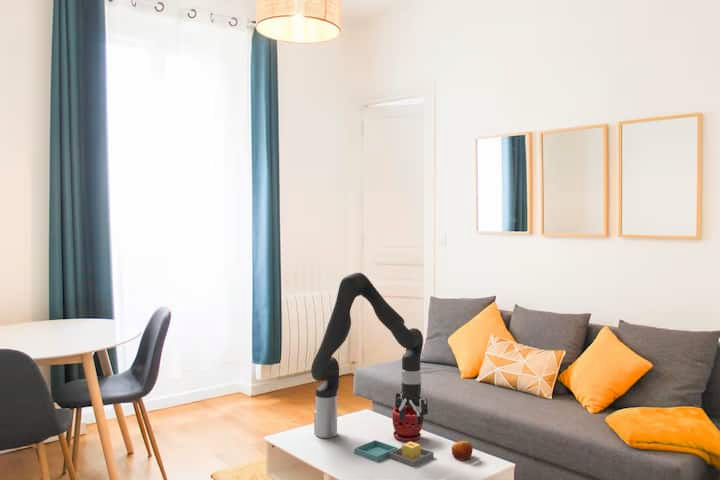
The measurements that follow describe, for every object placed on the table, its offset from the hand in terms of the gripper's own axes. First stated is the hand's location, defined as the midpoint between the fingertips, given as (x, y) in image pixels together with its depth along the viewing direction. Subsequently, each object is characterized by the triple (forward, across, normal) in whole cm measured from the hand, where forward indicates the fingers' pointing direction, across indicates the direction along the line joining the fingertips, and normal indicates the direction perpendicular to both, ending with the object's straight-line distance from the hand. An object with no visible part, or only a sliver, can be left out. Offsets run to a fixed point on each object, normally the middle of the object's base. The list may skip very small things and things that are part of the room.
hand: (411, 422), depth 233 cm
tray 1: (+14, -13, -6) cm, 20 cm away
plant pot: (+14, -15, +16) cm, 26 cm away
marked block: (+14, 0, 0) cm, 14 cm away
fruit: (+14, +14, +14) cm, 24 cm away
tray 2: (+14, 0, 0) cm, 14 cm away
